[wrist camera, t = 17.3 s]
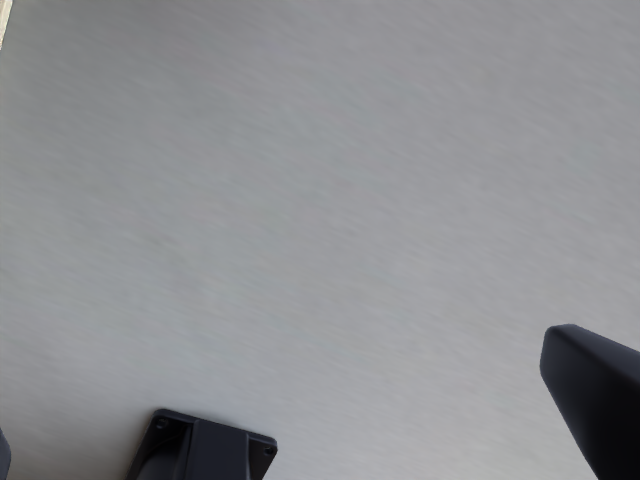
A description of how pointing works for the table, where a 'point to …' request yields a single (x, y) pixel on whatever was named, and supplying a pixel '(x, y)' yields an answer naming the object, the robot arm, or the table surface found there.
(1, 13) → the towel
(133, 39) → the table surface
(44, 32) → the table surface
